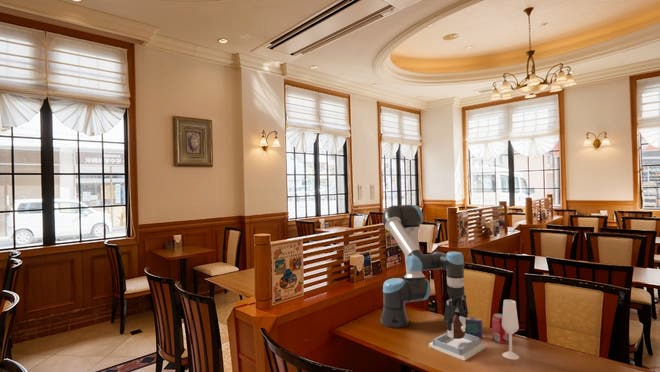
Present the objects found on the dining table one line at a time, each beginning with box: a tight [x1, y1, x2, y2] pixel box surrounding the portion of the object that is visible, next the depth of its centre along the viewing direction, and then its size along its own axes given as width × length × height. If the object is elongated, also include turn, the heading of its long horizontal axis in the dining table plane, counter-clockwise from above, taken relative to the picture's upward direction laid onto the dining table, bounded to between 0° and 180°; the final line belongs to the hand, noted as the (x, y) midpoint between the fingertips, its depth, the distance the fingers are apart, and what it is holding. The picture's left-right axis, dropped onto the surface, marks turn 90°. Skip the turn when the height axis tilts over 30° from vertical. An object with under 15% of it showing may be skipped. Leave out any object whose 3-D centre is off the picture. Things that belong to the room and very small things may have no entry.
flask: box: [465, 314, 484, 339], centre depth 177 cm, size 9×3×11 cm, turn 74°
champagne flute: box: [501, 299, 520, 360], centre depth 157 cm, size 7×7×24 cm
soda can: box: [491, 313, 509, 344], centre depth 172 cm, size 7×7×12 cm
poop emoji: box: [445, 314, 466, 339], centre depth 166 cm, size 10×8×9 cm
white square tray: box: [428, 332, 486, 362], centre depth 166 cm, size 18×18×4 cm
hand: (456, 333), depth 166 cm, fingers closed on poop emoji, 10 cm apart
